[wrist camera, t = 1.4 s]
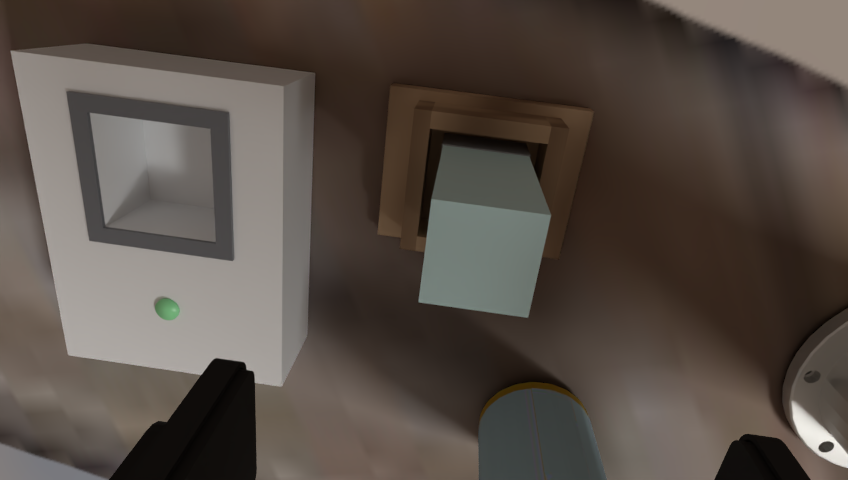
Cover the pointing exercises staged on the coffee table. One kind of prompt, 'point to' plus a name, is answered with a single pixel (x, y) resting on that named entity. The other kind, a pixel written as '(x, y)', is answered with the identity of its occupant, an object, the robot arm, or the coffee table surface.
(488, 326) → the coffee table surface
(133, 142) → the panel
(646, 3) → the coffee table surface
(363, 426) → the coffee table surface
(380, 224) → the square wooden tray
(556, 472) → the bottle
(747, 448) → the robot arm
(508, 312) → the plug
